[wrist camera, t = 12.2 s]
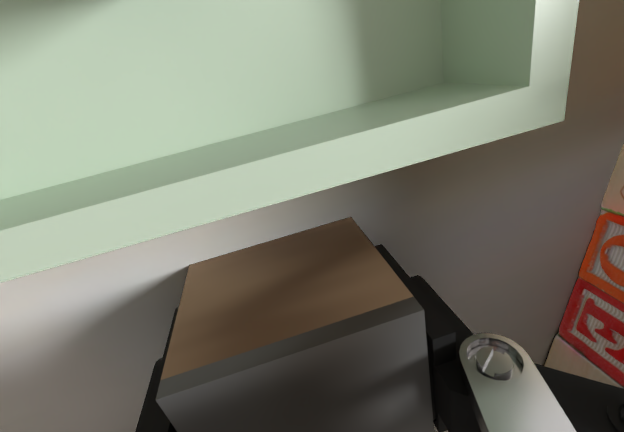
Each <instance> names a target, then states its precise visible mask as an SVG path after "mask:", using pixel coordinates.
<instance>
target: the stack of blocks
mask: <svg viewBox="0 0 624 432" xmlns="http://www.w3.org/2000/svg"><path fill="white" fill-rule="evenodd" d="M601 208H602V211H601V213H600V216H599V218H598V219H597V222H596V227H595V230H594V233H593V236H592V239H591V241H590V243H589V246H588V249H587V252H586V255H585V258H584V260H583V262H582V265H581V268H580V271H579V278H578V279H577V281H576V283H575V286H574V289H573V292H572V294H571V297H570V299H569V302H568V305H567V307H566V310H565V313H564V316H563V319H562V322H561V324H560V327H559V333H558V334H557V335H556V336H555V338H554V341H553V344H552V347H551V349H550V352H549V355H548V358H547V360H546V363H545V365H544V366H545V367H549V368H552V369H556V370H559V371H563V372H567V373H570V374H574V375H577V376H581V377H584V378H588V379H591V380H595V381H599V382H602V383H606V384H609V385H613V386H616V387H620V388H623V389H624V144H623V146H622V148H621V151H620V154H619V156H618V159H617V162H616V165H615V168H614V170H613V173H612V175H611V178H610V181H609V184H608V186H607V189H606V192H605V194H604V197H603V200H602V204H601Z"/></svg>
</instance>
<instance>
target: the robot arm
mask: <svg viewBox="0 0 624 432" xmlns="http://www.w3.org/2000/svg"><path fill="white" fill-rule="evenodd" d="M374 247H375V248H376V249H377V250H378V252H379V253H380V254H381V256H382V257H383V258H384V259H385V261H386V262H387V263H388V264H389V266H390V267H391V268H392V270H393V271H394V272H395V273H396V275H397V276H398V277H399V278H400V280H401V281H402V282H403V284H404V285H405V286H406V287H407V289H408V290H409V291H410V292H411V294H412V295H413V296H414V298H415V299H416V300H417V301H418V303H419V304H420V305H421V306H422V308H423V309H424V314H425V327H426V339H427V351H428V363H429V375H430V388H431V400H432V412H433V423H434V424H435V426H436V428H437V430H438V432H444V431H446V430H448V431H449V432H624V389H623V388H620V387H616V386H613V385H609V384H606V383H602V382H599V381H595V380H591V379H588V378H584V377H581V376H577V375H574V374H570V373H567V372H563V371H559V370H556V369H552V368H549V367H545V366H542V365H538V364H535V363H533V361H532V360H531V358H530V357H529V355H528V354H527V353H526V351H525V350H524V349H523V348H522V347H521V346H520V345H518V344H517V343H516V342H514V341H513V340H511V339H509V338H507V337H504V336H502V335H497V334H493V333H479V334H475V335H474V334H473V333H472V332H471V331H470V330H469V329H468V328H467V327H466V326H465V325H464V323H463V322H462V321H461V320H460V319H459V318H458V317H457V316H456V315H455V313H454V312H453V311H452V310H451V309H450V308H449V307H448V306H447V305H446V303H445V302H444V301H443V300H442V299H441V298H440V297H439V296H438V295H437V293H436V292H435V291H434V290H433V289H432V288H431V287H430V286H429V285H428V283H427V282H426V281H425V280H424V279H423V278H422V277H421V276H418V275H417V276H414V277H411V278H410V277H409V276H408V275H407V274H406V273H405V271H404V270H403V269H402V268H401V267H400V265H399V264H398V263H397V262H396V261H395V259H394V258H393V257H392V256H391V255H390V254H389V252H388V251H387V250H386V249H385V248H384V246H383V245H381V244H380V245H377V246H374ZM178 308H179V307H178ZM178 308H176V310H175V313H174V317H173V321H172V324H171V328H170V332H169V336H168V340H167V343H166V347H165V351H164V355H163V358H161V359H159V360H158V361H157V362H156V364H155V366H154V369H153V373H152V376H151V380H150V383H149V387H148V390H147V394H146V397H145V401H144V404H143V408H142V411H141V415H140V418H139V422H138V425H137V429H136V432H177V431H176V429H175V428H174V426H173V425H172V423H171V422H170V420H169V419H168V418H167V416H166V415H165V413H164V412H163V410H162V409H161V407H160V406H159V404H158V403H157V402H156V396H157V392H158V388H159V384H160V380H161V376H162V372H163V368H164V364H165V360H166V356H167V352H168V348H169V344H170V340H171V336H172V332H173V328H174V324H175V320H176V316H177V312H178Z"/></svg>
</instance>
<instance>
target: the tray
mask: <svg viewBox="0 0 624 432" xmlns="http://www.w3.org/2000/svg"><path fill="white" fill-rule="evenodd" d="M578 7H579V0H0V283H2V282H6V281H9V280H13V279H16V278H20V277H23V276H27V275H30V274H34V273H37V272H40V271H44V270H47V269H51V268H54V267H58V266H61V265H65V264H68V263H72V262H75V261H79V260H82V259H86V258H89V257H93V256H96V255H100V254H103V253H106V252H110V251H113V250H117V249H120V248H124V247H127V246H131V245H134V244H138V243H141V242H145V241H148V240H152V239H155V238H159V237H162V236H166V235H169V234H172V233H176V232H179V231H183V230H186V229H190V228H193V227H197V226H200V225H204V224H207V223H211V222H214V221H218V220H221V219H225V218H228V217H232V216H235V215H239V214H242V213H245V212H249V211H252V210H256V209H259V208H263V207H266V206H270V205H273V204H277V203H280V202H284V201H287V200H291V199H294V198H298V197H301V196H305V195H308V194H311V193H315V192H318V191H322V190H325V189H329V188H332V187H336V186H339V185H343V184H346V183H350V182H353V181H357V180H360V179H364V178H367V177H371V176H374V175H377V174H381V173H384V172H388V171H391V170H395V169H398V168H402V167H405V166H409V165H412V164H416V163H419V162H423V161H426V160H430V159H433V158H437V157H440V156H444V155H447V154H450V153H454V152H457V151H461V150H464V149H468V148H471V147H475V146H478V145H482V144H485V143H489V142H492V141H496V140H499V139H503V138H506V137H510V136H513V135H516V134H520V133H523V132H527V131H530V130H534V129H537V128H541V127H544V126H548V125H551V124H555V123H558V122H562V121H564V117H565V110H566V102H567V94H568V86H569V78H570V70H571V62H572V54H573V46H574V38H575V30H576V22H577V14H578Z"/></svg>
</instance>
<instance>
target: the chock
mask: <svg viewBox="0 0 624 432" xmlns="http://www.w3.org/2000/svg"><path fill="white" fill-rule="evenodd" d="M156 402H157V403H158V404H159V406H160V407H161V409H162V410H163V412H164V413H165V415H166V416H167V418H168V419H169V420H170V422H171V423H172V425H173V426H174V428H175V429H176V431H177V432H434V424H433V412H432V400H431V388H430V375H429V363H428V351H427V339H426V327H425V314H424V309H423V308H422V306H421V305H420V304H419V303H418V301H417V300H416V299H415V298H414V296H413V295H412V294H411V292H410V291H409V290H408V289H407V287H406V286H405V285H404V284H403V282H402V281H401V280H400V278H399V277H398V276H397V275H396V273H395V272H394V271H393V270H392V268H391V267H390V266H389V264H388V263H387V262H386V261H385V259H384V258H383V257H382V256H381V254H380V253H379V252H378V250H377V249H376V248H375V247H374V245H373V244H372V243H371V242H370V240H369V239H368V238H367V237H366V235H365V234H364V233H363V231H362V230H361V229H360V228H359V226H358V225H357V224H356V223H355V221H354V220H353V219H352V217H349V218H345V219H342V220H339V221H335V222H332V223H329V224H325V225H322V226H319V227H315V228H312V229H308V230H305V231H302V232H298V233H295V234H292V235H288V236H285V237H282V238H278V239H275V240H272V241H268V242H265V243H262V244H258V245H255V246H252V247H248V248H245V249H242V250H238V251H235V252H232V253H228V254H225V255H221V256H218V257H215V258H211V259H208V260H205V261H201V262H198V263H195V264H191V265H189V268H188V272H187V276H186V280H185V284H184V288H183V292H182V296H181V300H180V304H179V308H178V312H177V316H176V320H175V324H174V328H173V332H172V336H171V340H170V344H169V348H168V352H167V356H166V360H165V364H164V368H163V372H162V376H161V380H160V384H159V388H158V392H157V396H156Z"/></svg>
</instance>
